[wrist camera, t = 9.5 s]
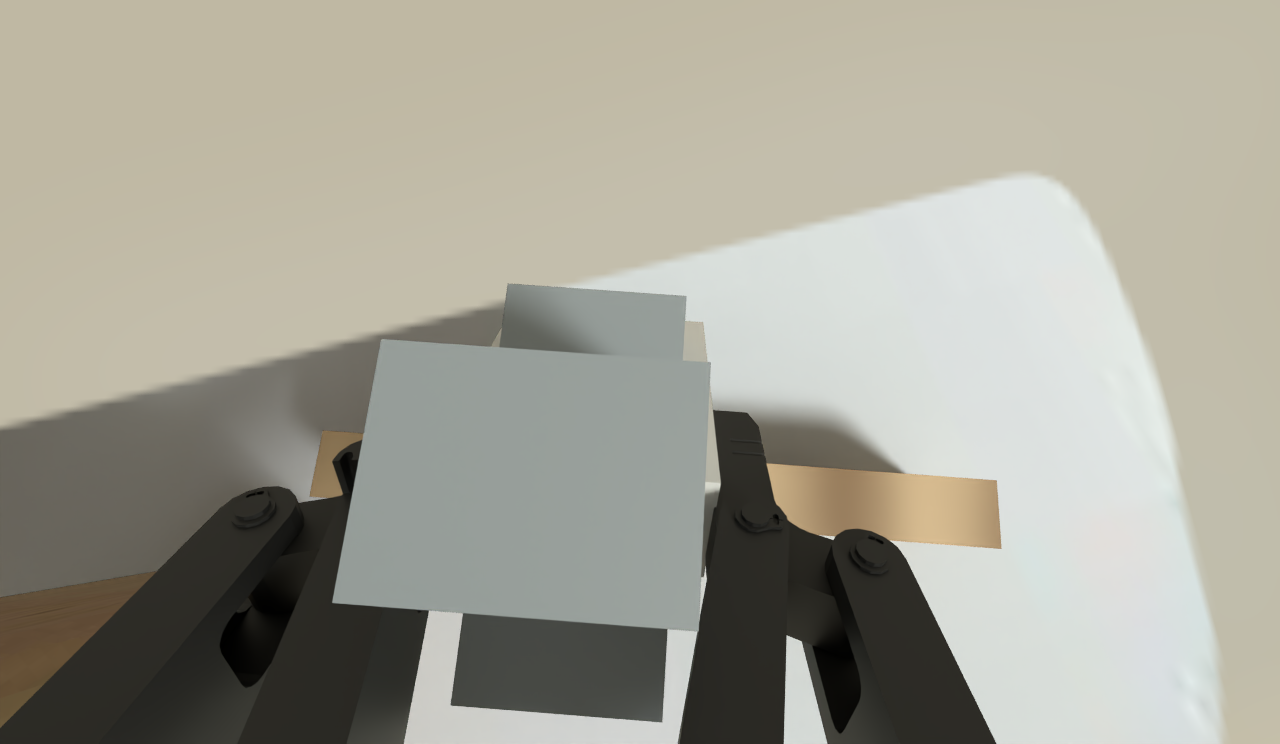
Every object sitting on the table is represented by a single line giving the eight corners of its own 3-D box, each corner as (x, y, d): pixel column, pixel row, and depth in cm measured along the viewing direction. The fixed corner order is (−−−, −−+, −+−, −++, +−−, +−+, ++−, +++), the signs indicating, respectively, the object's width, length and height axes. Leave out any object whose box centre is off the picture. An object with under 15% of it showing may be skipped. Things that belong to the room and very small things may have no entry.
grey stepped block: (651, 615, 19) (685, 936, 5) (537, 606, 19) (276, 903, 5) (665, 379, 21) (719, 159, 7) (563, 372, 21) (418, 139, 7)
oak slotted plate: (383, 495, 26) (309, 496, 20) (391, 443, 27) (323, 430, 21) (918, 535, 26) (1001, 548, 20) (916, 482, 26) (996, 480, 20)
